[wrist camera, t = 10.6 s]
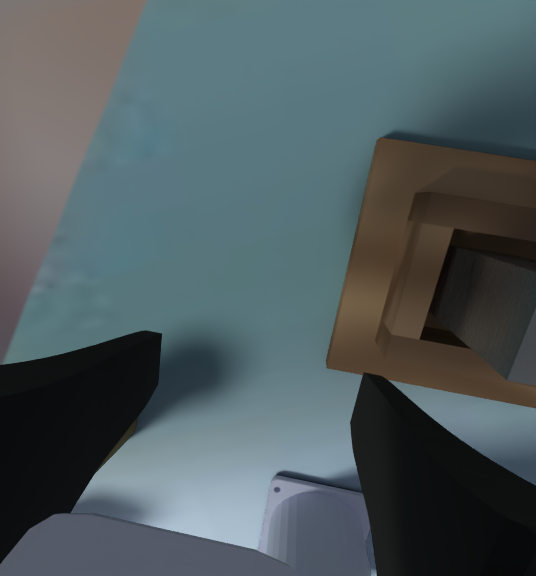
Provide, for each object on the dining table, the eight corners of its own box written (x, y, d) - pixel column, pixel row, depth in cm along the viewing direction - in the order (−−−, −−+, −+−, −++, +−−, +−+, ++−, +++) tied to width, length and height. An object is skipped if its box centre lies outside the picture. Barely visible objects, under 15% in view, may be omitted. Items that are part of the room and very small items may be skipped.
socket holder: (536, 401, 22) (580, 438, 18) (325, 360, 22) (330, 389, 19) (635, 180, 18) (713, 175, 14) (376, 140, 19) (393, 127, 15)
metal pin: (494, 321, 19) (620, 401, 12) (427, 310, 20) (506, 380, 12) (519, 255, 18) (674, 296, 11) (446, 244, 19) (548, 275, 11)
